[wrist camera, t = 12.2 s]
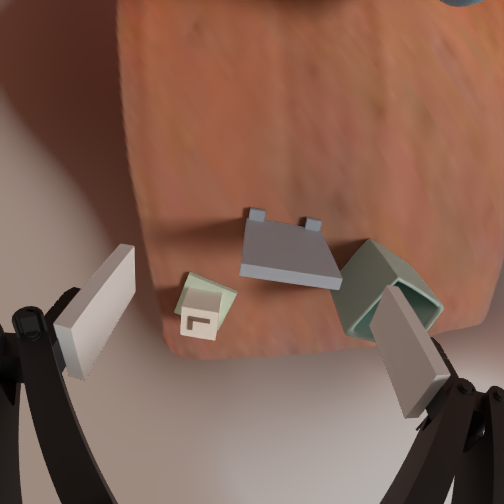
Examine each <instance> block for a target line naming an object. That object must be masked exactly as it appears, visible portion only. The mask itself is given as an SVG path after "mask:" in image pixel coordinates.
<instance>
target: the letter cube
mask: <svg viewBox="0 0 504 504" xmlns="http://www.w3.org/2000/svg"><path fill="white" fill-rule="evenodd" d="M221 300H222V292H215V291H209V290H203V289H197V288H191V287H189V288H188V291H187V293H186V296H185V299H184V302H183V304H182V310H181V334H180V335H185V336H191V337H197V338H203V339H209V340H215V338H216V333H217V327H218V322H219V315H220V307H221Z"/></svg>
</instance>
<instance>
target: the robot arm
mask: <svg viewBox="0 0 504 504" xmlns="http://www.w3.org/2000/svg"><path fill="white" fill-rule="evenodd" d="M440 1H442V2H443V3H445V4H447V5H450V6H455V7H463V6H469V5H473V4H476V3H478V2H481V1H483V0H440ZM134 293H135V261H134V246H131V245H125V244H120V245H119V246H118V247H117V248H116V250H115V251H114V252H113V253H112V254H111V255H110V256H109V257H108V258H107V259H106V261H105V262H104V263H103V264H102V265H101V266H100V267H99V269H98V270H97V271H96V272H95V273H94V274H93V276H92V277H91V278H90V279H89V280H88V282H87V283H86V284H85V285H84V286H83V287H82V288H81V289H80V288H76V287H73V288H71V289H69V290H68V291H66V292H64V294H63V295H62V296H61V297H60V298H59V300H57V301H56V303H55V304H54V306H52V307H51V309H50V310H49V311H48V312H47V313H46V315H45V316H44V314H43V312H42V310H41V309H39V308H38V307H33V306H28V307H24V308H21V309H19V310H18V311H16V312H15V313H14V315H13V316H12V323H13V326H14V329H15V332H16V333H4V331H3V328H2V326H1V325H0V504H22V496H21V486H20V472H19V445H18V431H19V428H18V427H19V403H20V390H21V383H24V384H25V388H26V394H27V398H28V403H29V407H30V411H31V415H32V419H33V423H34V427H35V430H36V434H37V438H38V441H39V444H40V447H41V450H42V454H43V457H44V460H45V462H46V465H47V468H48V471H49V474H50V476H51V479H52V482H53V484H54V487H55V489H56V492H57V494H58V497H59V499H60V501H61V503H62V504H118V503H117V501H116V499H115V497H114V496H113V494H112V492H111V490H110V488H109V486H108V485H107V483H106V481H105V479H104V477H103V475H102V473H101V471H100V469H99V467H98V465H97V463H96V461H95V459H94V456H93V454H92V452H91V450H90V448H89V445H88V443H87V441H86V438H85V436H84V434H83V431H82V429H81V426H80V424H79V421H78V419H77V416H76V413H75V411H74V408H73V405H72V403H71V400H70V397H69V394H68V391H67V388H66V385H65V382H64V379H63V376H62V372H63V370H64V368H65V367H66V368H67V371H68V374H69V376H71V377H74V378H77V379H80V380H83V381H85V380H86V378H87V376H88V374H89V373H90V371H91V369H92V367H93V365H94V363H95V361H96V360H97V358H98V356H99V354H100V352H101V350H102V349H103V347H104V345H105V343H106V341H107V340H108V338H109V336H110V334H111V333H112V331H113V329H114V327H115V326H116V324H117V322H118V320H119V319H120V317H121V315H122V313H123V312H124V310H125V308H126V307H127V305H128V303H129V302H130V300H131V298H132V297H133V295H134ZM369 326H370V329H371V331H372V334H373V336H374V339H375V341H376V343H377V346H378V348H379V351H380V353H381V356H382V358H383V361H384V364H385V366H386V369H387V371H388V374H389V377H390V379H391V382H392V385H393V387H394V390H395V392H396V395H397V398H398V401H399V404H400V407H401V409H402V412H403V415H404V418H417V417H419V416H420V415H421V414H422V412H423V411H424V410H425V409H426V410H427V413H428V416H427V417H426V418H425V419H424V420H423V422H422V423H421V424H420V425H419V426H418V427H417V429H416V430H418V429H419V428H420V430H419V432H418V434H417V437H416V439H415V441H414V443H413V445H412V447H411V449H410V451H409V453H408V455H407V457H406V459H405V461H404V463H403V464H402V466H401V468H400V470H399V472H398V474H397V475H396V477H395V479H394V481H393V483H392V484H391V486H390V488H389V489H388V491H387V493H386V494H385V496H384V498H383V499H382V501H381V502H380V504H444V502H445V499H446V497H447V494H448V491H449V489H450V486H451V484H452V481H453V478H454V476H455V478H454V487H453V495H452V502H451V504H504V390H503V389H502V388H500V387H498V386H492V387H490V389H489V390H488V391H487V392H486V393H482V392H478V391H476V389H475V387H474V386H473V384H472V383H471V382H469V381H468V380H466V379H464V378H459V377H458V375H457V373H456V371H455V370H454V368H453V366H452V364H451V363H450V361H449V359H447V356H446V354H445V353H444V350H443V349H442V347H441V346H440V344H439V343H438V342H437V341H436V340H435V339H434V338H432V337H429V335H428V333H427V332H426V330H425V328H424V327H423V325H422V323H421V322H420V320H419V319H418V317H417V315H416V314H415V312H414V310H413V309H412V307H411V306H410V304H409V302H408V301H407V299H406V298H405V296H404V295H403V293H402V292H401V290H400V289H399V287H397V286H390V285H386V287H385V290H384V292H383V295H382V297H381V300H380V302H379V304H378V307H377V309H376V312H375V314H374V316H373V318H372V321H371V323H370V325H369ZM484 430H485V432H484V435H483V431H484Z"/></svg>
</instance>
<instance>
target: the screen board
mask: <svg viewBox="0 0 504 504" xmlns="http://www.w3.org/2000/svg"><path fill="white" fill-rule="evenodd" d="M265 213H266V210H265V209H258V208H252V207H250V213H249V217H247V219H246V225H245V233H244V241H243V250H242V258H241V266H240V275H239V276H245V277H251V278H258V279H264V280H271V281H278V282H285V283H291V284H298V285H305V286H312V287H319V288H327V289H334V290H339V289H340V286H341V283H342V280H343V278H342V276H341V273H340V271H339V269H338V267H337V265H336V262H335V260H334V258H333V256H332V254H331V251H330V249H329V247H328V245H327V243H326V241H325V239H324V237H323V234H322V232H321V230H320V227H321V223H322V221H321V219H316V218H310V217H306V221H305V225H304V227H303V226H298V225H292V224H286V223H280V222H274V221H268V220H264V218H265Z"/></svg>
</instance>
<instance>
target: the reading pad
mask: <svg viewBox="0 0 504 504" xmlns="http://www.w3.org/2000/svg"><path fill="white" fill-rule="evenodd" d="M189 287H191V288H197V289H203V290H209V291H215V292H222V300H221V307H220V315H219V322H218V327H217V329H218V330H219V328H220V326H221V324H222V322H223V320H224V318H225V316H226V314H227V312H228V310H229V308H230V306H231V305H232V303H233V301H234V299H235V297H236V295H237V291H236V290H234V289H231V288H229V287H226V286H224V285H221V284H219V283H216V282H214V281H211V280H209V279H206V278H204V277H201V276H199V275H197V274H194V273H192V272H190V273H189V275H188V278H187V280H186V283H185V285H184V288H183V290H182V293H181V295H180V298H179V301H178V303H177V306H176V308H175V311H174V313H177V314H179V315H181V310H182V304H183V302H184V299H185V296H186V293H187V291H188V288H189Z"/></svg>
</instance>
